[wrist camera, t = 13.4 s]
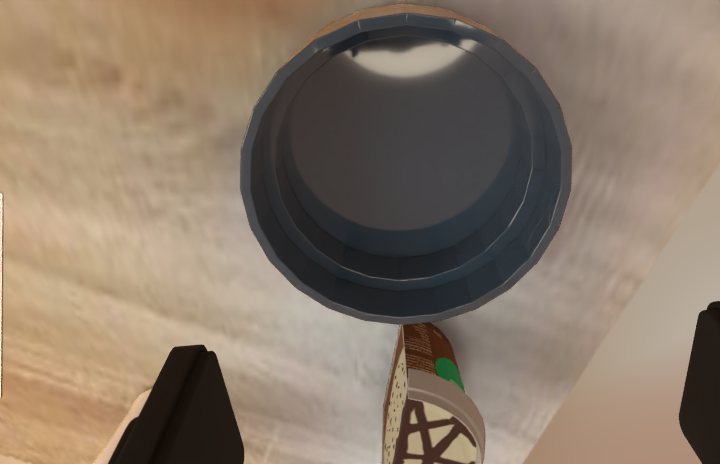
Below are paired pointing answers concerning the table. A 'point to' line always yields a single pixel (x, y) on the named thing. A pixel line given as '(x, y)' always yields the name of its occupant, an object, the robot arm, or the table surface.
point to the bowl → (405, 166)
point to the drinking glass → (122, 428)
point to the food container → (428, 404)
